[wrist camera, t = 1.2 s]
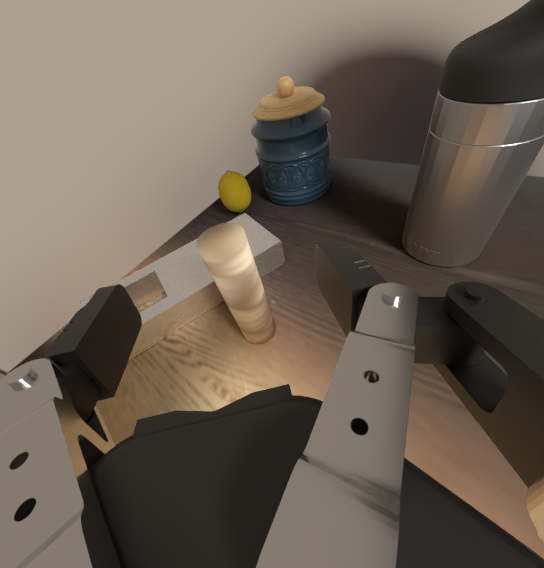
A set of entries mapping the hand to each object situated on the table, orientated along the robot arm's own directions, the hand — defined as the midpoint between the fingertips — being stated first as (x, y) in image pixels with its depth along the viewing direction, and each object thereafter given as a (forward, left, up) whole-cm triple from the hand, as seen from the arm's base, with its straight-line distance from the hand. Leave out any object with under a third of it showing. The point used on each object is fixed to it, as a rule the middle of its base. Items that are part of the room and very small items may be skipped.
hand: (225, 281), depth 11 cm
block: (+1, -21, -18) cm, 28 cm away
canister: (-26, -31, -18) cm, 44 cm away
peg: (-3, -9, -18) cm, 21 cm away
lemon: (-14, -33, -18) cm, 40 cm away
